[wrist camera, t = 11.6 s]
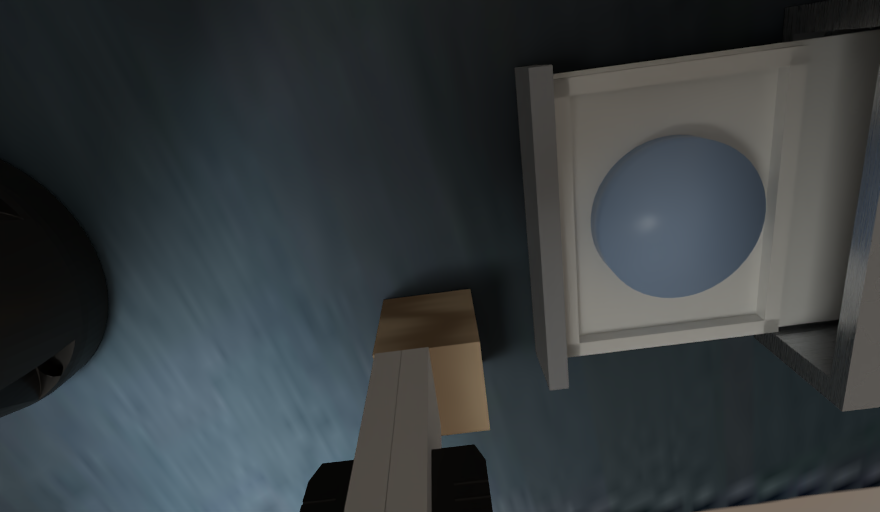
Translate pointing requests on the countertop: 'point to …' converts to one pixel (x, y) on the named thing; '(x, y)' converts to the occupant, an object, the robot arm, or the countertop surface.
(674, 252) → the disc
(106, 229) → the countertop surface
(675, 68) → the tray
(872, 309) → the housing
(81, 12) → the countertop surface
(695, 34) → the countertop surface
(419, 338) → the block
